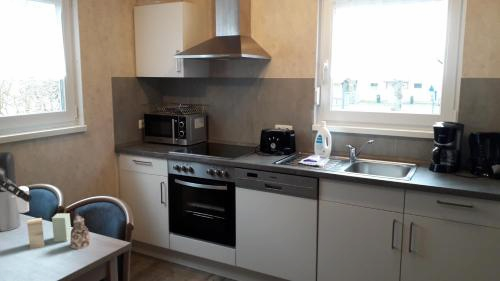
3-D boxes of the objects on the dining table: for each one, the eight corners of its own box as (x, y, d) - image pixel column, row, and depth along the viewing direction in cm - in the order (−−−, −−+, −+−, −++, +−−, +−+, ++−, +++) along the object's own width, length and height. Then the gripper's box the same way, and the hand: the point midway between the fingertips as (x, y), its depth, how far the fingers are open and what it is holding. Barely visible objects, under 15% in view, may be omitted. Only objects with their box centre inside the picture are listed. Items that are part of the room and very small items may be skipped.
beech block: (29, 244, 162) (27, 220, 160) (44, 241, 164) (41, 217, 162) (30, 248, 157) (27, 224, 155) (44, 246, 160) (42, 222, 158)
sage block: (59, 236, 168) (56, 213, 167) (71, 236, 169) (69, 213, 167) (54, 241, 164) (51, 218, 162) (66, 241, 164) (64, 217, 162)
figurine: (70, 250, 156) (67, 220, 154) (70, 242, 163) (68, 214, 160) (90, 247, 159) (88, 217, 156) (90, 239, 165) (87, 211, 163)
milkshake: (15, 210, 147) (12, 183, 145) (31, 208, 149) (29, 182, 147) (12, 214, 143) (9, 187, 141) (30, 212, 144) (27, 185, 143)
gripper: (-1, 166, 132) (42, 193, 143) (-14, 159, 141) (27, 185, 152) (-18, 185, 129) (27, 211, 140) (-30, 177, 139) (13, 202, 149)
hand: (27, 198), depth 146 cm, fingers closed on milkshake, 4 cm apart
